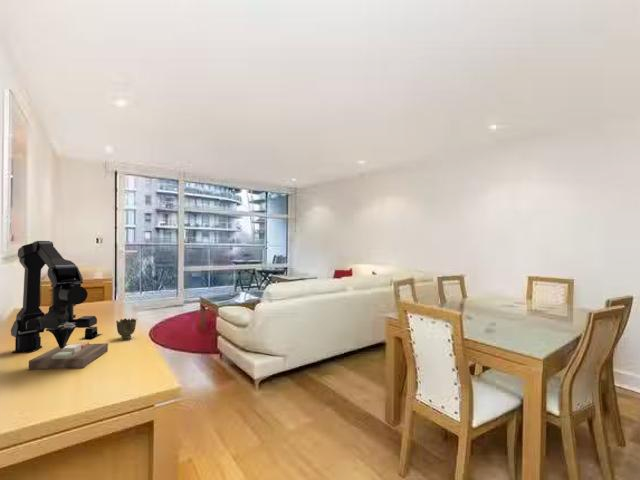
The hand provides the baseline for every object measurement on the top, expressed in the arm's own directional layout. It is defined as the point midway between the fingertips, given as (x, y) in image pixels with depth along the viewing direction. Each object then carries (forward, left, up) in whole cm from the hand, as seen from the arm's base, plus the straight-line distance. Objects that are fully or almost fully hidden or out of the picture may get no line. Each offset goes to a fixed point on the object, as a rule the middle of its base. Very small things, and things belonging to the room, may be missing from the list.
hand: (62, 348), depth 112 cm
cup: (+8, +31, -6) cm, 32 cm away
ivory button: (0, +6, -4) cm, 7 cm away
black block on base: (-8, +36, -7) cm, 37 cm away
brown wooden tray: (0, +6, -6) cm, 8 cm away
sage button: (0, 0, -5) cm, 5 cm away
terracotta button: (0, +11, -5) cm, 12 cm away
